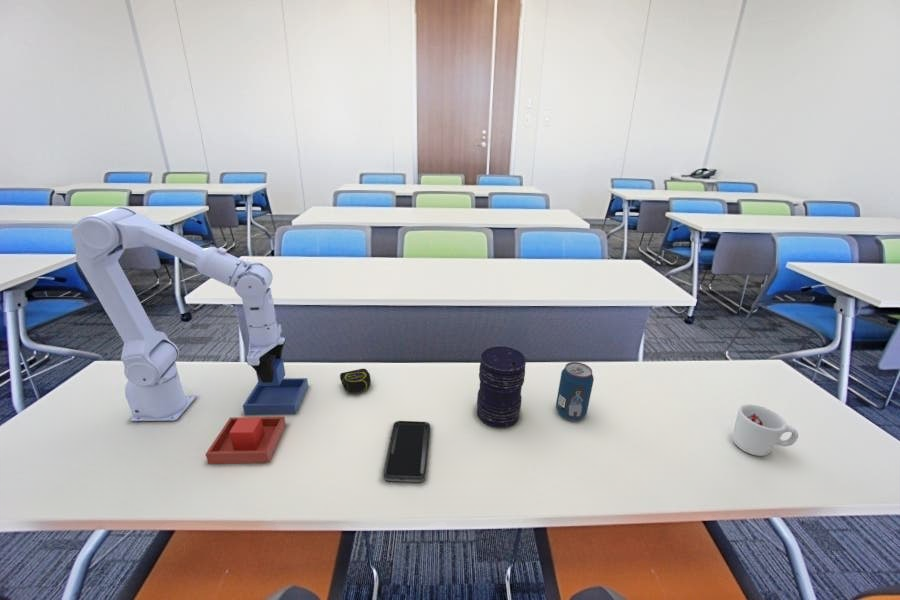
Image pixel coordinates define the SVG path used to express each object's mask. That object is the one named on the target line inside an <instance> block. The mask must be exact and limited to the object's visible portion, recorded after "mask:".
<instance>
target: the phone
mask: <svg viewBox="0 0 900 600" xmlns="http://www.w3.org/2000/svg"><path fill="white" fill-rule="evenodd" d="M430 433H431V424H430V422H428V421H417V420H413V421H412V420H397V421H394V423H393V426H392V431H391V434H390V439H389V444H388V448H387V453H386V457H385V462H384V466H383V471H382V474H383V475H382V476H383V479H384V481H386V482H395V483H398V482H400V483H422V482H424V481H425V479H426V475H427V464H428V455H429V454H428V453H429V446H430V445H429V442H430V435H431V434H430Z"/></svg>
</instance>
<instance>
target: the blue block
mask: <svg viewBox="0 0 900 600" xmlns="http://www.w3.org/2000/svg"><path fill="white" fill-rule="evenodd" d="M255 373H256V378H257V383H258V384H259V386H279V385H280V383H281V382H282V380H283V378H285V377H286V370H285V364H284V359H283V358H281V359H274V363H273V381H272V382H271V383H262V381H261V379H260V378H259V376H258V374H257V372H256V371H255Z"/></svg>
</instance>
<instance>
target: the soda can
mask: <svg viewBox="0 0 900 600" xmlns="http://www.w3.org/2000/svg"><path fill="white" fill-rule="evenodd" d="M564 366H565V367H564V368H563V369H562V370H561V372H560V379H559V383H558V391H557V396H556V402H555V409H556V411H557V413H558V414H559V416H560V417H561V418H563V419H564V420H567V421H571V422H578V421H580V420H582V419H583V418H584V417H585V416H586V415H587V414H588V410H589V404H590V401H591V400H590V399H591V395H592V390H593V385H594V379H595V377H594V374H593V369H592V368H591V367H590V366H589V365H587V364H585V363H583V362H578V361H571V362H568V363H566V364H565V365H564Z"/></svg>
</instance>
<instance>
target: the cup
mask: <svg viewBox="0 0 900 600" xmlns="http://www.w3.org/2000/svg"><path fill="white" fill-rule="evenodd" d="M785 433H791V435H790V436H789V438H787V439H785V440H784V439H783V440H782V439H781V437H782V436H783V435H784V434H785ZM798 438H799V433H798V431H797V429H796V428H794V427H793V426H792V425H789V424H787V422H786V420H785V419H784V418H783V417H782V416H781V415H779V413H777V412H775V411H773V410H772V409H770V408H767V407H764V406H761V405H758V404H752V403H751V404H750V403H749V404H748V403H747V404H743V405H741V406H739V408H738V411H737V415H736V420H735V423H734V427H733V431H732V440H733V442H734V444H735V445H736V446H737V447H738V448H739V449H741V450H742V451H744V452H745V453H748V454H750V455H752V456H758V457H762V456H766V455H768V454H770V453H771V452H772V451H773V449H774V448H775V446H780V447H790V446H792V445H794V444H795V443H796V442H797V441H798Z"/></svg>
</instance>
